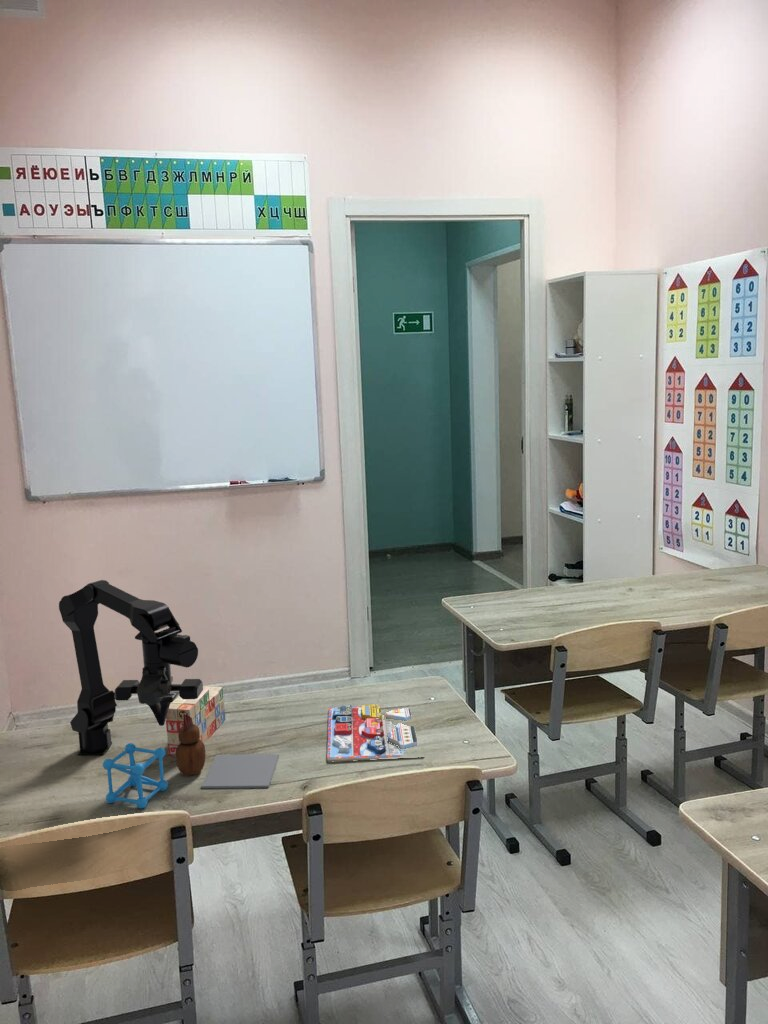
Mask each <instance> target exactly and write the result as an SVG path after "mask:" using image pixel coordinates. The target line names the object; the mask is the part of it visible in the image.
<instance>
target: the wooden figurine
mask: <svg viewBox="0 0 768 1024" xmlns="http://www.w3.org/2000/svg"><path fill="white" fill-rule="evenodd" d="M183 716H184V726H182V727H181V728H180V730H179V733H178V737H179V741H180V742H181V743H180V744H179V745H178V747H177V749H176V754H175V755H174V757H175V763H176V766H177V769H178V771H179V772H180V774H182V775H183V776H186V777H191V776H195V775H198V774H199V773H201V771H202V770H203V769H204V766H205V763H206V746H205V744H204V743H203V742H202V741H201V740H200V739H199V737H200V730H199V727H198V726H197V725H194V724H193V721H192V717H190V716H188V713H186V717H185V714H184V715H183Z"/></svg>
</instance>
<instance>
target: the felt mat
mask: <svg viewBox="0 0 768 1024" xmlns="http://www.w3.org/2000/svg"><path fill="white" fill-rule="evenodd" d="M279 757H280V754H279V753H268V754H267V753H263V754H262V753H260V754H259V753H257V754H256V753H255V754H254V753H251V754H249V753H248V754H245V753H244V754H216V755H215V757H214V759H213V762H212V763H211V765H210V767H209V770H208V771H207V773H206V775H205V778H204V780H203V782H202V783H201V785H200V788H201V789H251V788H252V789H253V788H254V789H255V788H258V789H261V788H262V789H264V788H267V789H269V788H270V784H271V782H272V778H273V775H274V772H275V770H276V767H277V764H278V761H279Z"/></svg>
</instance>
